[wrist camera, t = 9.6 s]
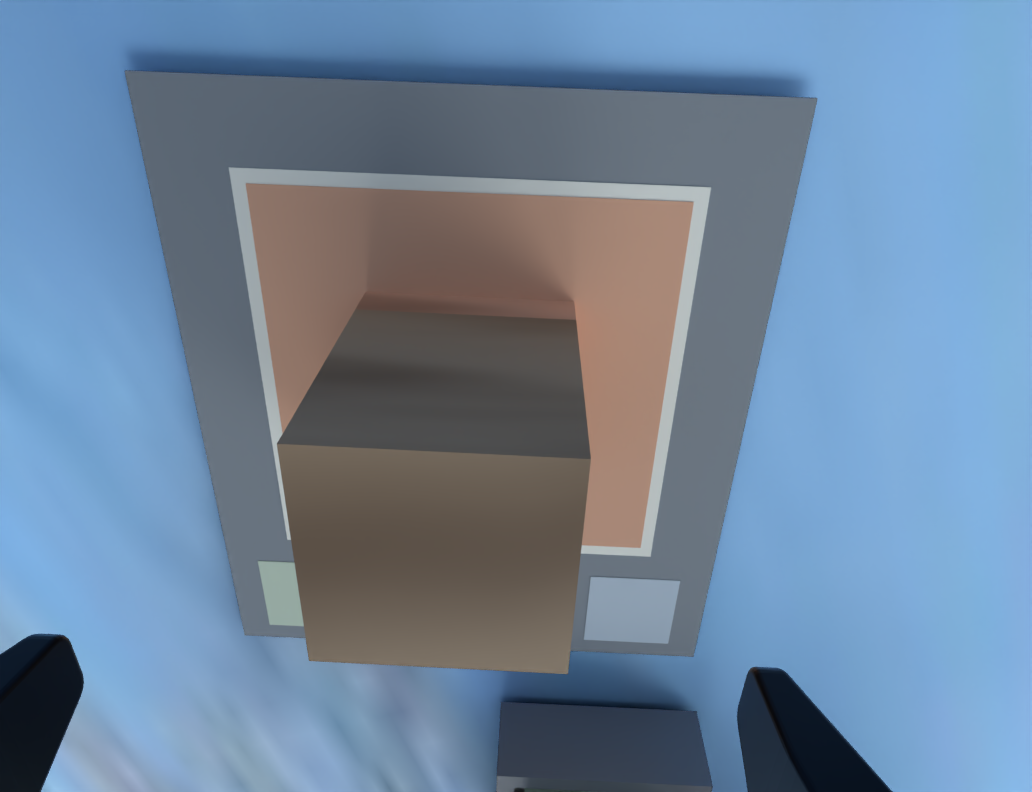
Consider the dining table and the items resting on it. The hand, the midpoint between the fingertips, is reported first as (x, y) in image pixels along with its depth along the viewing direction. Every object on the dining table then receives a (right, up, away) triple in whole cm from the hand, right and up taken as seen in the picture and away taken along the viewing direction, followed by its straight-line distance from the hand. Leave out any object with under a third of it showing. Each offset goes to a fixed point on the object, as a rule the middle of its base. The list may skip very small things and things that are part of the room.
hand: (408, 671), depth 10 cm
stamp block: (0, +4, +7) cm, 8 cm away
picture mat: (0, +3, +8) cm, 8 cm away
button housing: (+4, -8, +14) cm, 17 cm away
